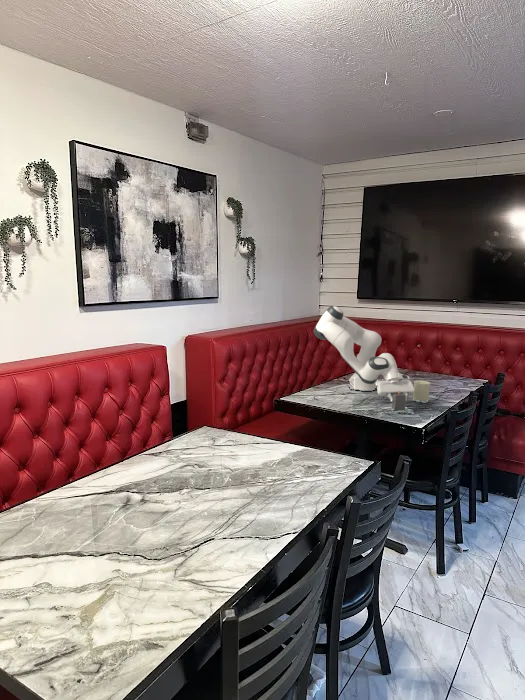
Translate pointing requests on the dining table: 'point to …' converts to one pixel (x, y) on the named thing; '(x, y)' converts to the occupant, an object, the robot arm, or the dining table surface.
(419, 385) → the can
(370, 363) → the robot arm
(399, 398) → the block
